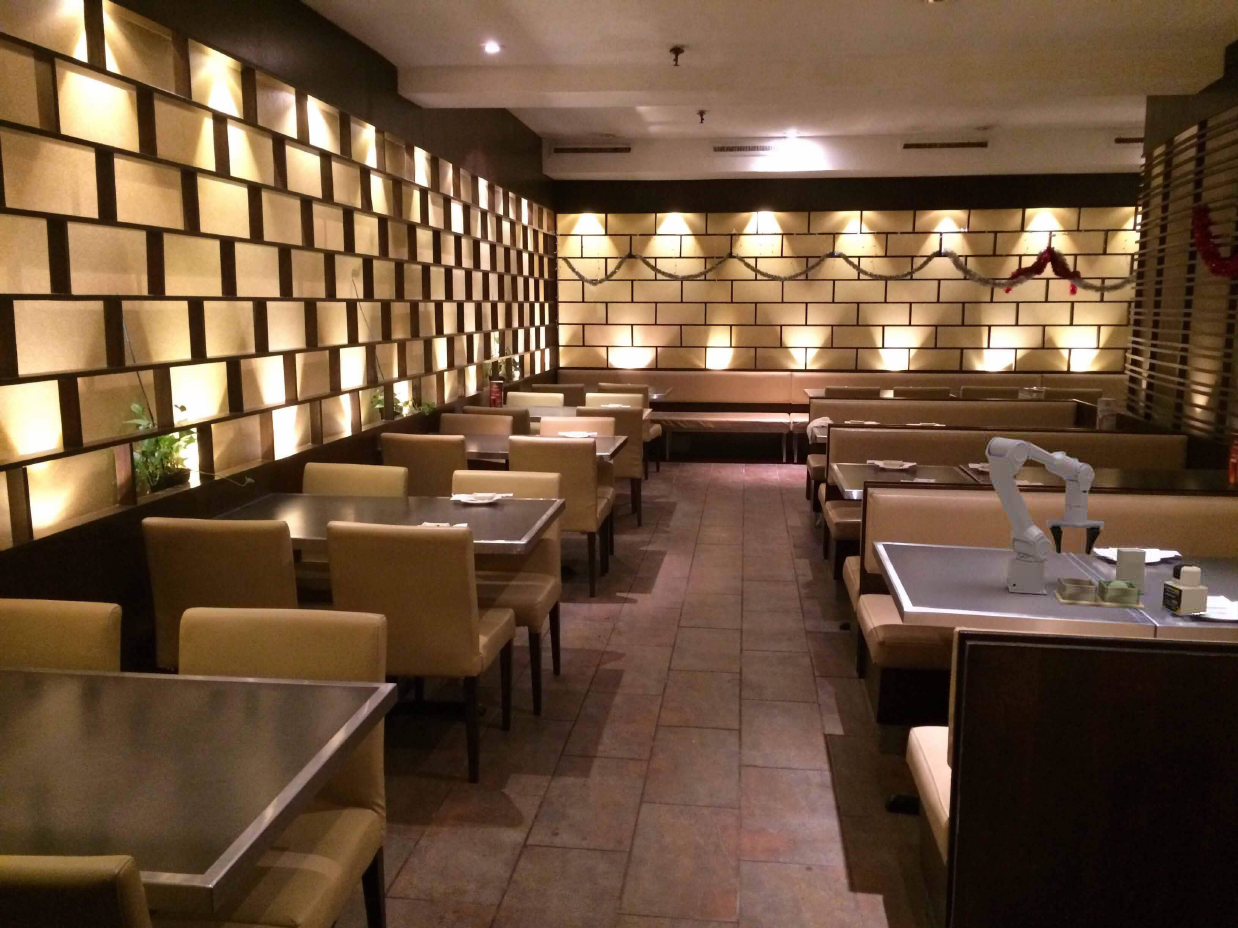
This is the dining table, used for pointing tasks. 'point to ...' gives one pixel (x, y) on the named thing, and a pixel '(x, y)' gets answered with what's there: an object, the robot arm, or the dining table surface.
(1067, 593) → the sorting board
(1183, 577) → the medicine bottle
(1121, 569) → the skincare box
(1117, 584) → the sage ball
